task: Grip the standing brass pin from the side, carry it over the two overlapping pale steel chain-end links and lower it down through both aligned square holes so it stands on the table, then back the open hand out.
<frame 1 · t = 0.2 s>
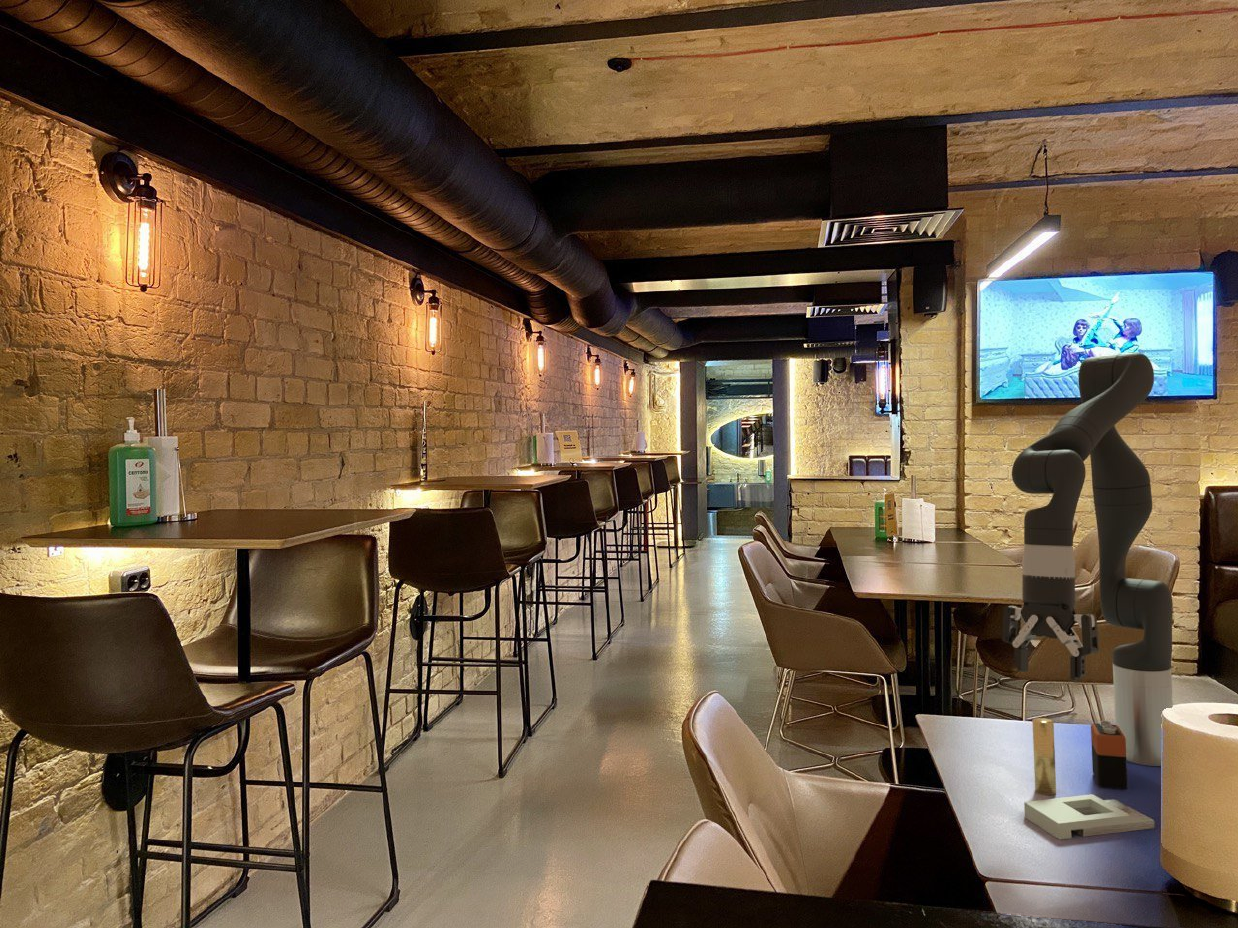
hand: (1048, 675, 131), 22 cm above the table, tool pointing down, fingers open, 8 cm apart
chain end upper: (1076, 815, 127), in the chain end lower
chain end lower: (1088, 822, 127), on the table
battery: (1109, 782, 142), on the table
pin: (1045, 791, 139), on the table
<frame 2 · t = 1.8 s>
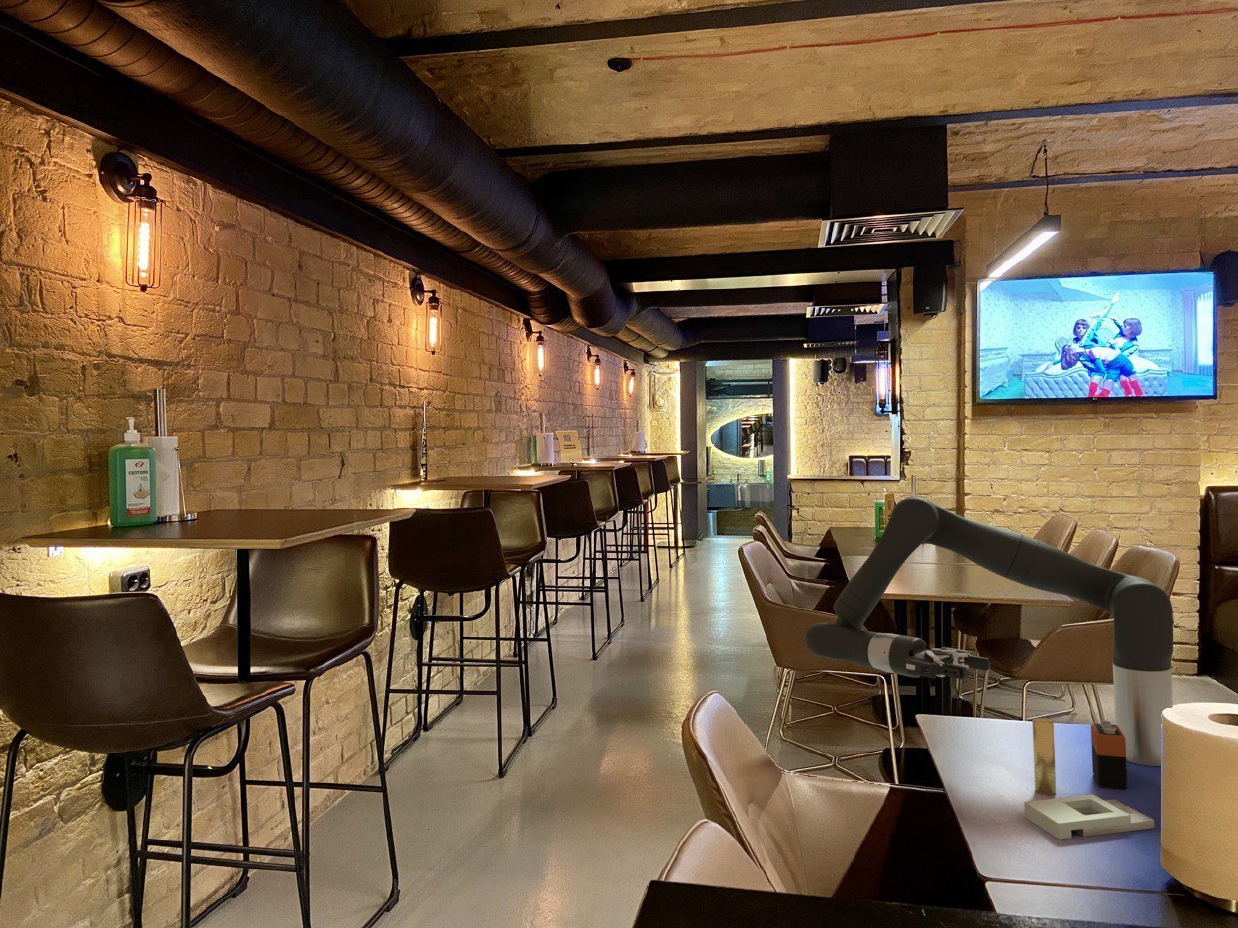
hand: (977, 668, 148), 19 cm above the table, tool horizontal, fingers open, 8 cm apart
nothing on the table moved.
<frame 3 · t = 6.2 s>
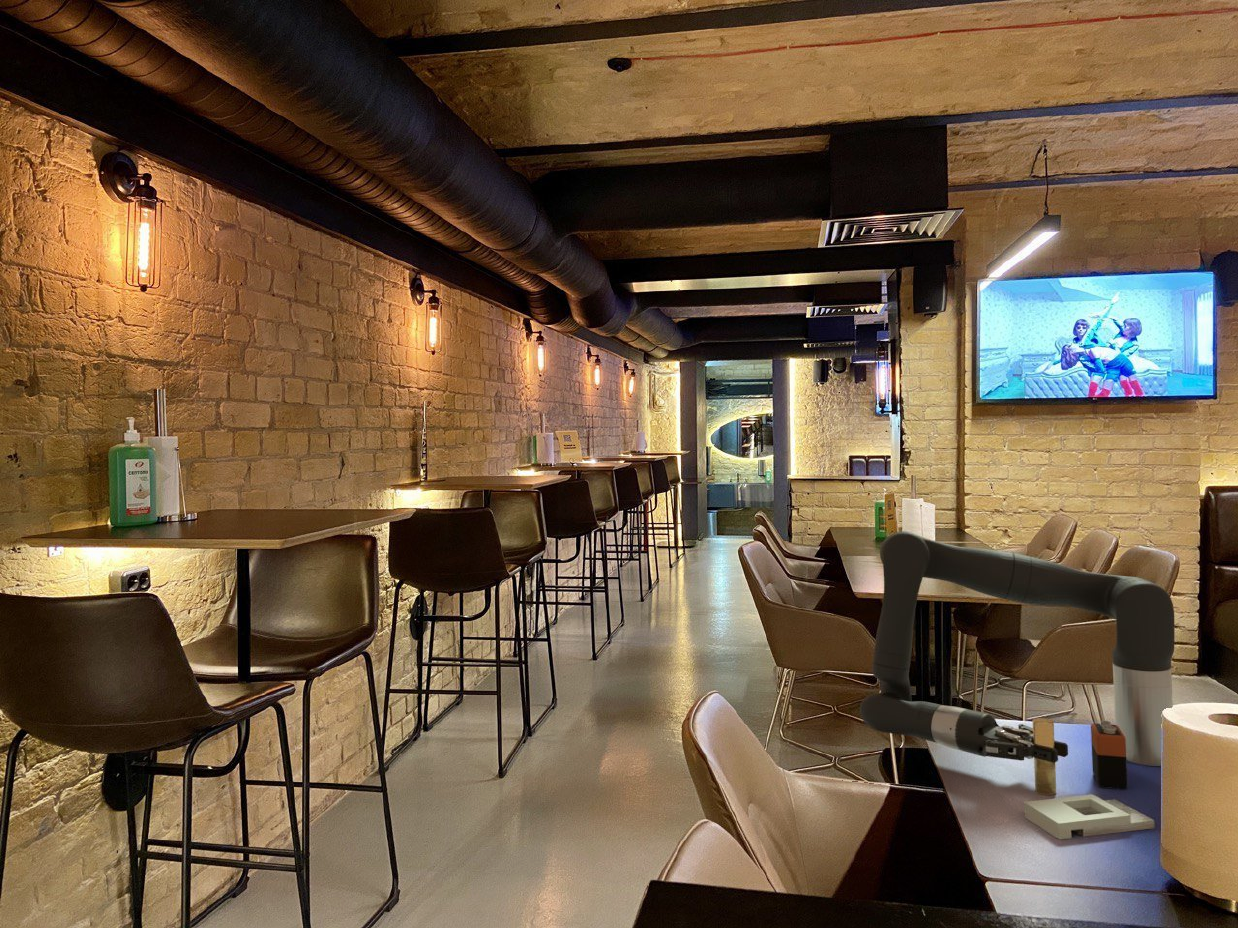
hand: (1061, 753, 137), 7 cm above the table, tool horizontal, fingers closed on pin, 3 cm apart
pin: (1045, 791, 139), on the table, touching gripper
everything else where it was.
when the fingers open (9 cm above the table, at t = 12.2 s): pin drops 1 cm, resting in chain end lower.
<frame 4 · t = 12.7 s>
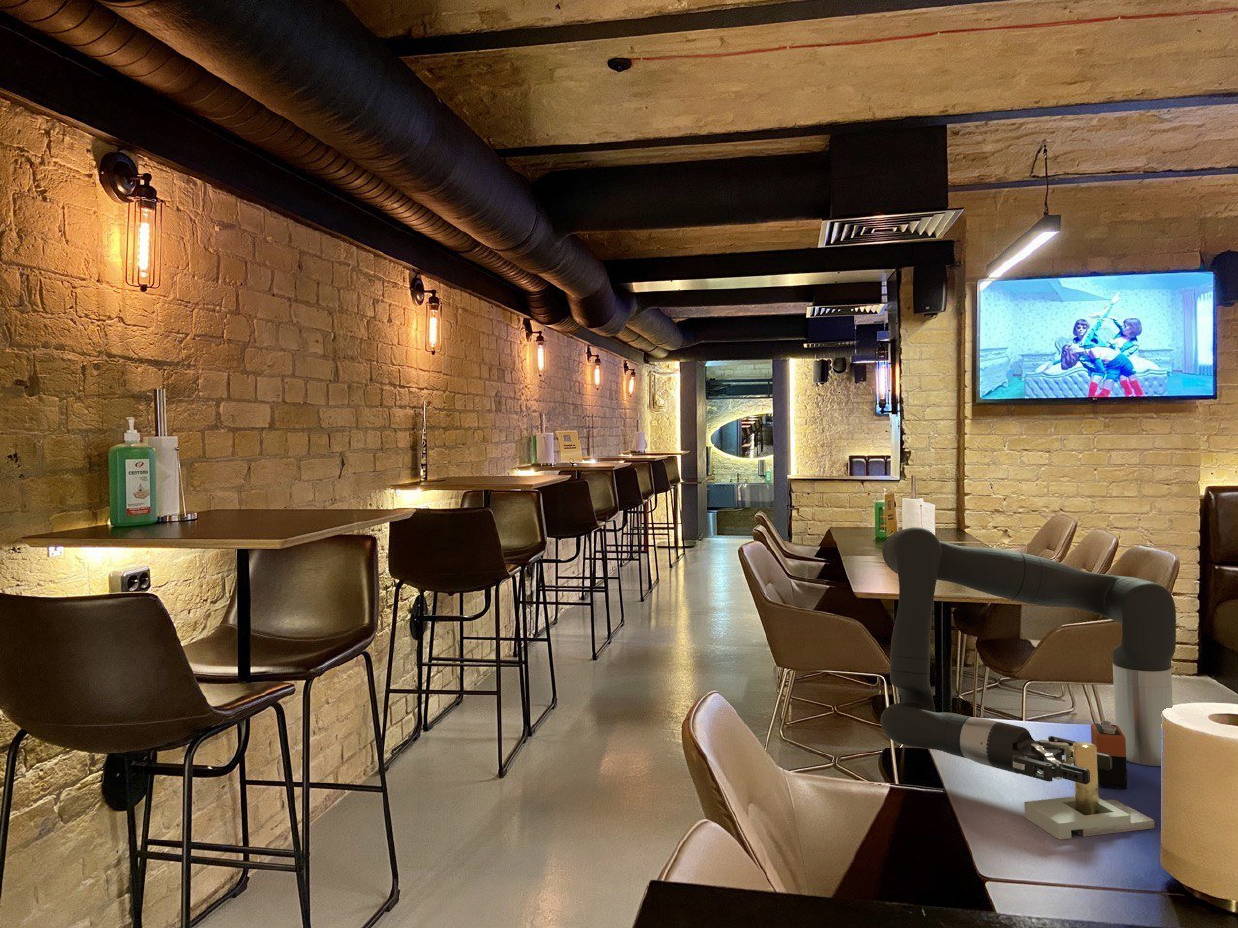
hand: (1100, 769, 126), 9 cm above the table, tool horizontal, fingers open, 7 cm apart
pin: (1087, 822, 127), resting in chain end lower
everything else where it was.
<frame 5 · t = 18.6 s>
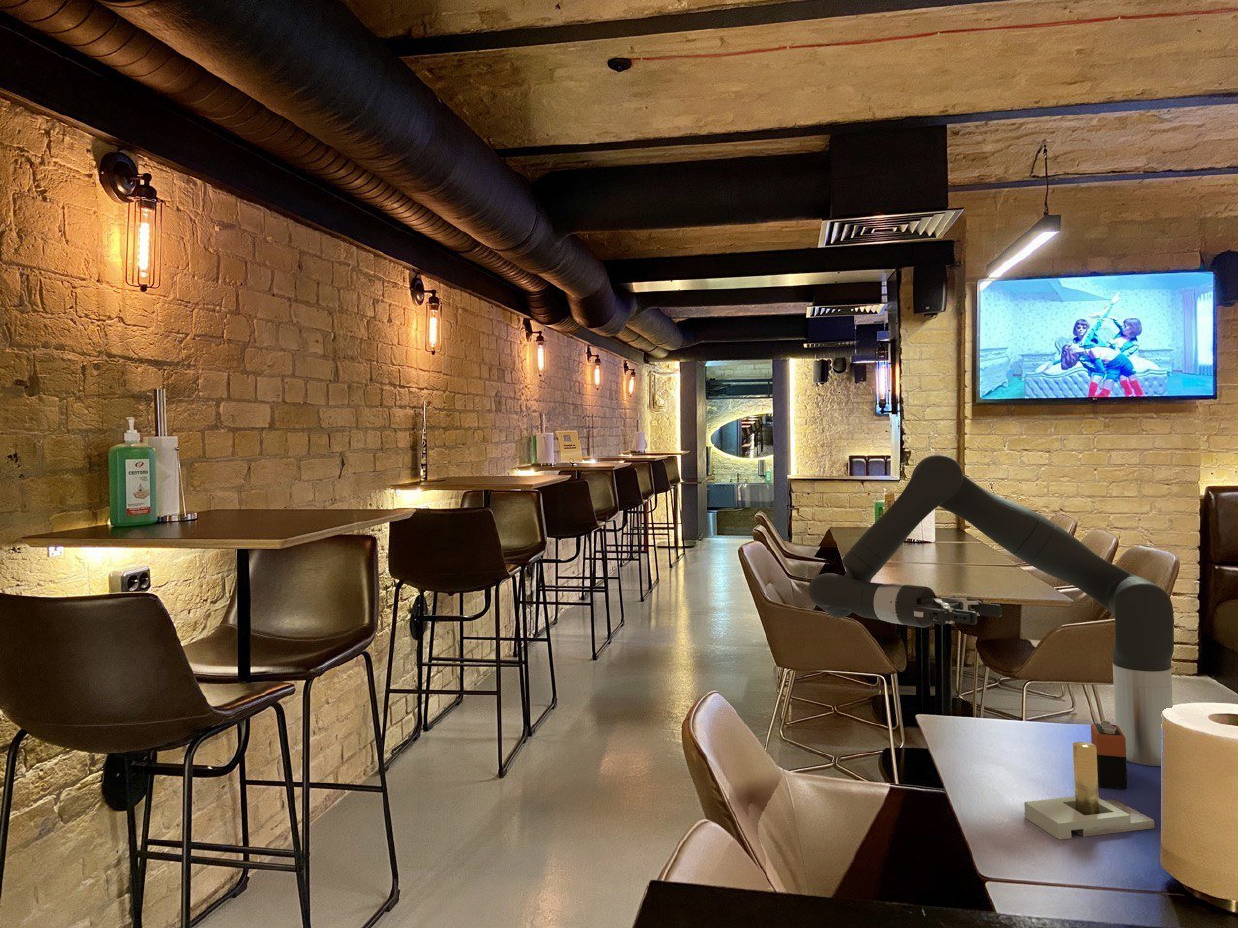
hand: (988, 614, 142), 30 cm above the table, tool horizontal, fingers open, 8 cm apart
nothing on the table moved.
at the end: pin 0.1 cm off-centre on the chain end upper, point 0.0 cm above the chain end upper's base; pin tilted 0°; the gripper is holding nothing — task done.
